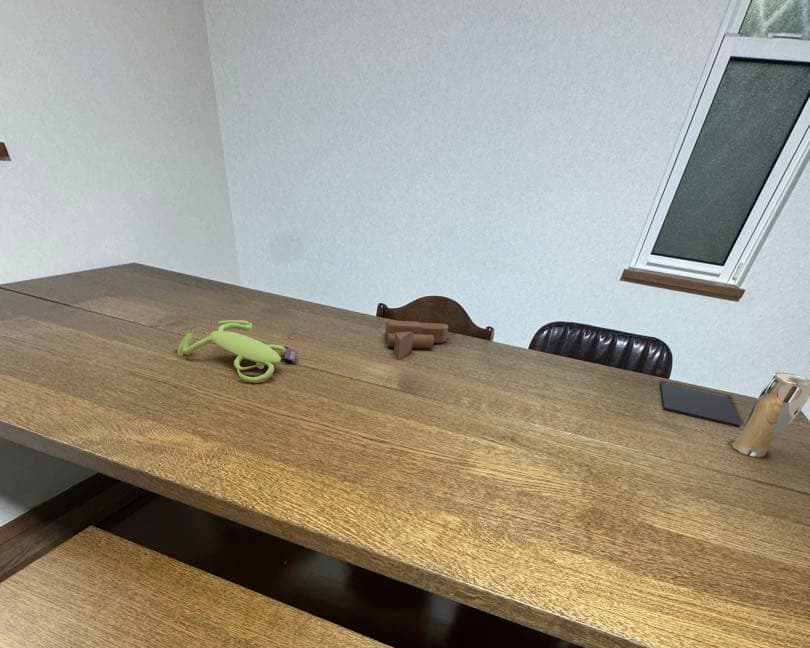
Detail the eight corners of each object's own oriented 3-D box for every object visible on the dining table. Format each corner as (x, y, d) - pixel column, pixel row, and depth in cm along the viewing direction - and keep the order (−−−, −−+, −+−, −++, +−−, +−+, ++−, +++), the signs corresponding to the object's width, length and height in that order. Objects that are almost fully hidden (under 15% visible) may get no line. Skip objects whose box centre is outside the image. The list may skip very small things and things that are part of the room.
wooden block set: (383, 315, 120) (447, 318, 124) (381, 338, 124) (444, 340, 128) (395, 335, 107) (466, 338, 112) (393, 359, 111) (462, 361, 115)
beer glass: (728, 441, 93) (773, 369, 84) (766, 453, 91) (817, 380, 81) (724, 453, 89) (772, 378, 79) (764, 466, 86) (818, 390, 76)
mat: (727, 399, 113) (728, 397, 112) (739, 427, 100) (740, 425, 99) (660, 384, 116) (661, 382, 116) (663, 409, 103) (664, 407, 103)
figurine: (235, 336, 113) (232, 312, 109) (316, 365, 103) (315, 340, 99) (169, 352, 100) (163, 326, 97) (253, 387, 90) (250, 359, 87)
